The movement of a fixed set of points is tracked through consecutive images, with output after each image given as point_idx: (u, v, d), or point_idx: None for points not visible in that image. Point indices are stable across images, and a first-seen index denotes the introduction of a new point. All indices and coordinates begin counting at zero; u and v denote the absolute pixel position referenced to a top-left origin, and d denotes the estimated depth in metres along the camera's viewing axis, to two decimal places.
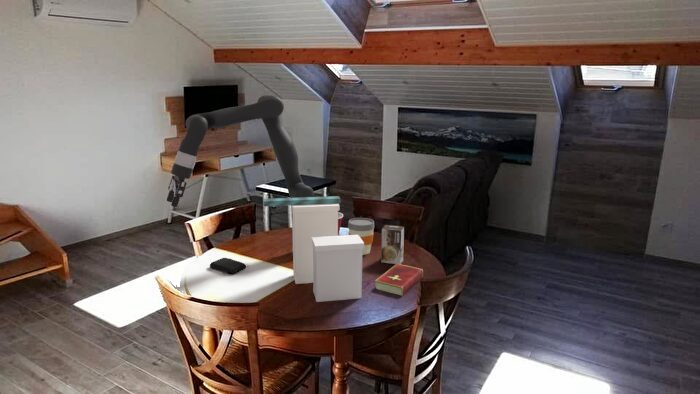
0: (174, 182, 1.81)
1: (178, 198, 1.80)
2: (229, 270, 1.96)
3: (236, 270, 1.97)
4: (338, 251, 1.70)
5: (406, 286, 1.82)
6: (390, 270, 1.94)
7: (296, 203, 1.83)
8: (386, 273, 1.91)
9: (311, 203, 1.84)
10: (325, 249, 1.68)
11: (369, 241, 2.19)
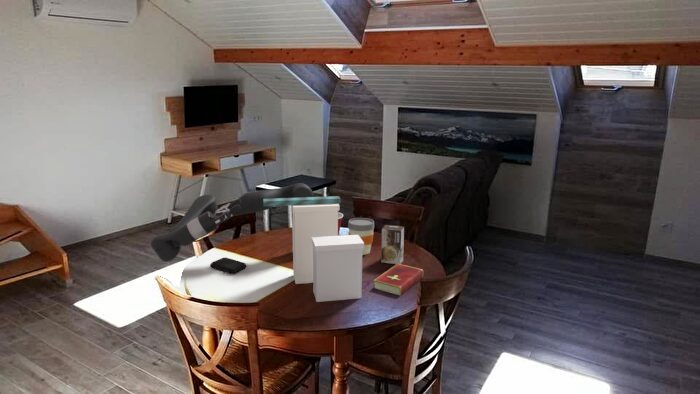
0: None
1: (230, 211, 1.74)
2: (230, 270, 1.96)
3: (237, 270, 1.97)
4: (338, 251, 1.70)
5: (405, 286, 1.82)
6: (390, 270, 1.94)
7: (296, 203, 1.83)
8: (386, 273, 1.91)
9: (311, 203, 1.84)
10: (325, 249, 1.68)
11: (369, 241, 2.19)
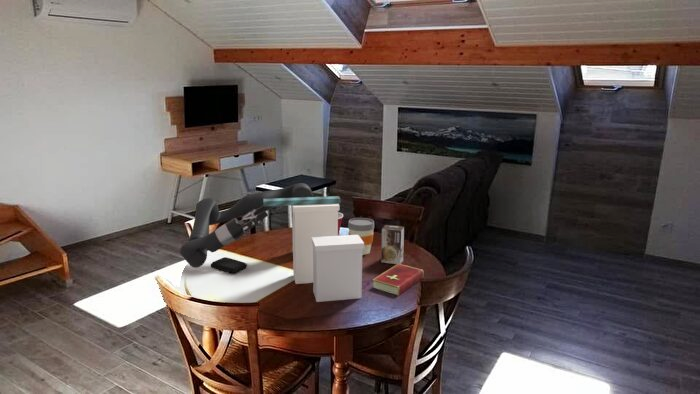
0: None
1: (258, 217, 1.78)
2: (230, 270, 1.96)
3: (237, 269, 1.97)
4: (338, 251, 1.70)
5: (403, 286, 1.82)
6: (390, 270, 1.95)
7: (296, 203, 1.83)
8: (385, 272, 1.92)
9: (311, 203, 1.84)
10: (325, 249, 1.68)
11: (369, 241, 2.19)
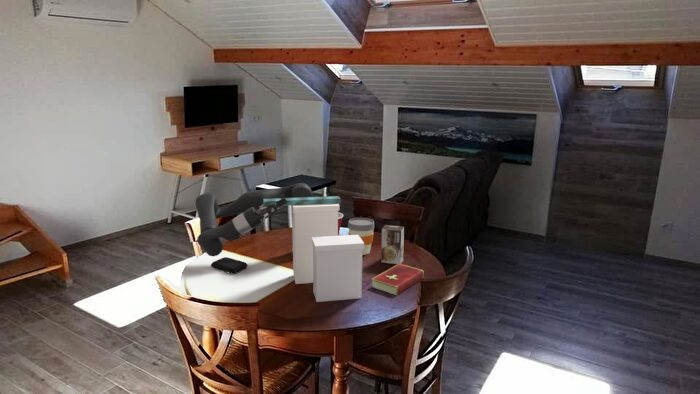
0: None
1: (277, 204, 1.80)
2: (231, 269, 1.96)
3: (238, 269, 1.98)
4: (338, 251, 1.70)
5: (402, 286, 1.82)
6: (390, 269, 1.95)
7: (296, 203, 1.83)
8: (385, 272, 1.92)
9: (311, 203, 1.84)
10: (325, 249, 1.68)
11: (369, 241, 2.19)
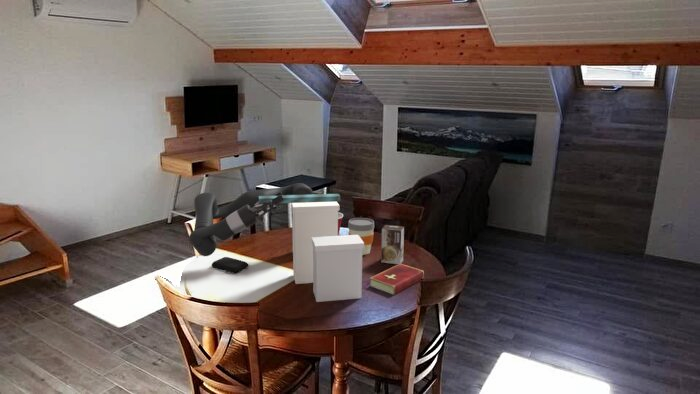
0: None
1: (273, 201, 1.70)
2: (232, 269, 1.97)
3: (239, 269, 1.98)
4: (338, 251, 1.70)
5: (399, 286, 1.82)
6: (390, 269, 1.95)
7: (293, 201, 1.73)
8: (384, 272, 1.92)
9: (309, 201, 1.74)
10: (325, 249, 1.68)
11: (369, 241, 2.19)
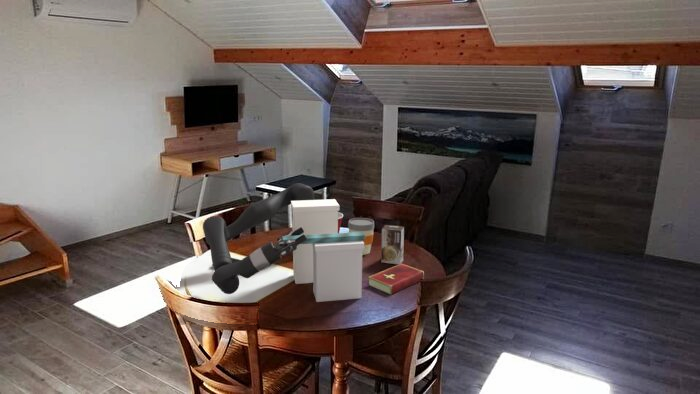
0: None
1: (296, 242, 1.65)
2: None
3: None
4: (338, 251, 1.70)
5: (397, 285, 1.82)
6: (390, 269, 1.95)
7: (318, 241, 1.70)
8: (384, 271, 1.93)
9: (334, 241, 1.72)
10: (325, 249, 1.68)
11: (369, 241, 2.19)
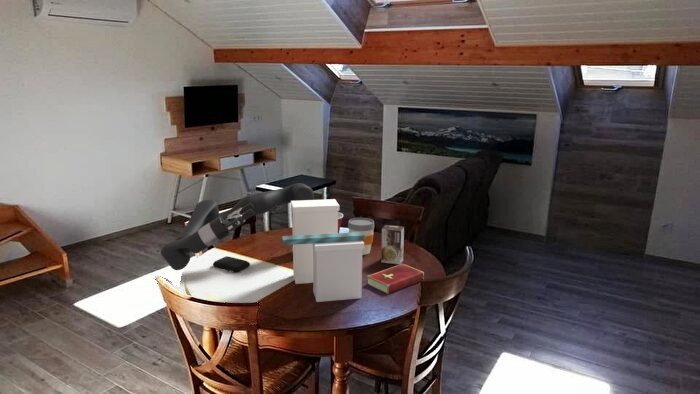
0: None
1: (243, 216, 1.67)
2: (234, 268, 1.98)
3: (241, 268, 1.99)
4: (338, 251, 1.70)
5: (394, 285, 1.82)
6: (390, 268, 1.96)
7: (318, 241, 1.70)
8: (384, 271, 1.93)
9: (334, 241, 1.72)
10: (325, 249, 1.68)
11: (369, 241, 2.19)
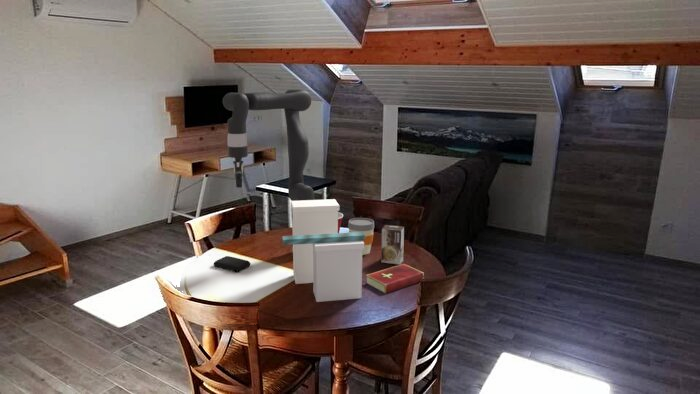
0: (233, 164, 1.84)
1: (239, 178, 1.82)
2: (235, 268, 1.98)
3: (241, 268, 1.99)
4: (338, 251, 1.70)
5: (392, 285, 1.83)
6: (390, 268, 1.96)
7: (318, 241, 1.70)
8: (383, 270, 1.94)
9: (334, 241, 1.72)
10: (325, 249, 1.68)
11: (369, 241, 2.19)
